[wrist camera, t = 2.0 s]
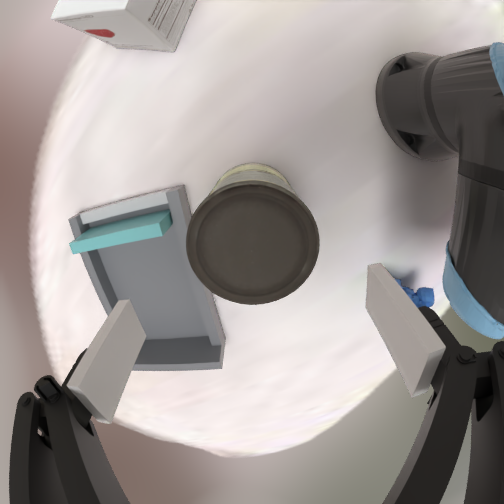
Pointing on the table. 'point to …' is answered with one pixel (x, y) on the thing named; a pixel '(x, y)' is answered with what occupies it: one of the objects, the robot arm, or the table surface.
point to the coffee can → (252, 237)
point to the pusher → (123, 231)
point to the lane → (156, 285)
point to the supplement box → (128, 21)
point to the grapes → (419, 295)
